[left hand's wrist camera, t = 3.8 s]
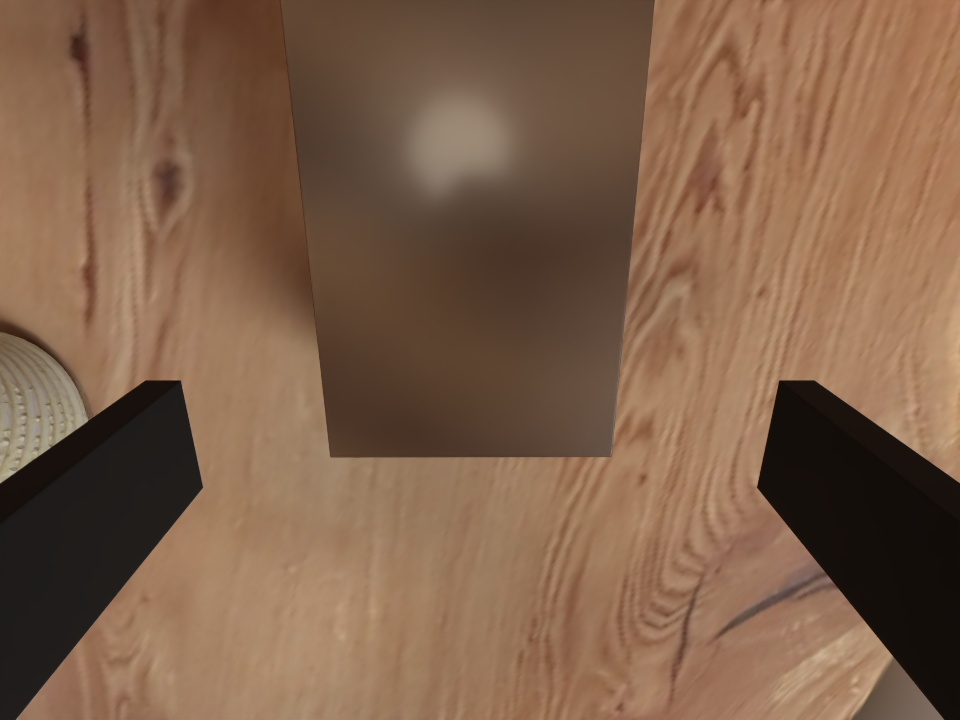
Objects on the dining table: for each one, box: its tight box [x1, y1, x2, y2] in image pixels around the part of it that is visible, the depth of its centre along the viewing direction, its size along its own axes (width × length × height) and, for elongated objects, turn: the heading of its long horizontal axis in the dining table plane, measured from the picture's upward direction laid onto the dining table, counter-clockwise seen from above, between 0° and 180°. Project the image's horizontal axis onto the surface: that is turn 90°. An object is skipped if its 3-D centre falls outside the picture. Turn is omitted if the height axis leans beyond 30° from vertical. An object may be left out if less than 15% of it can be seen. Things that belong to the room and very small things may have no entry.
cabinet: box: [280, 0, 655, 457], centre depth 21 cm, size 19×10×8 cm, turn 0°
